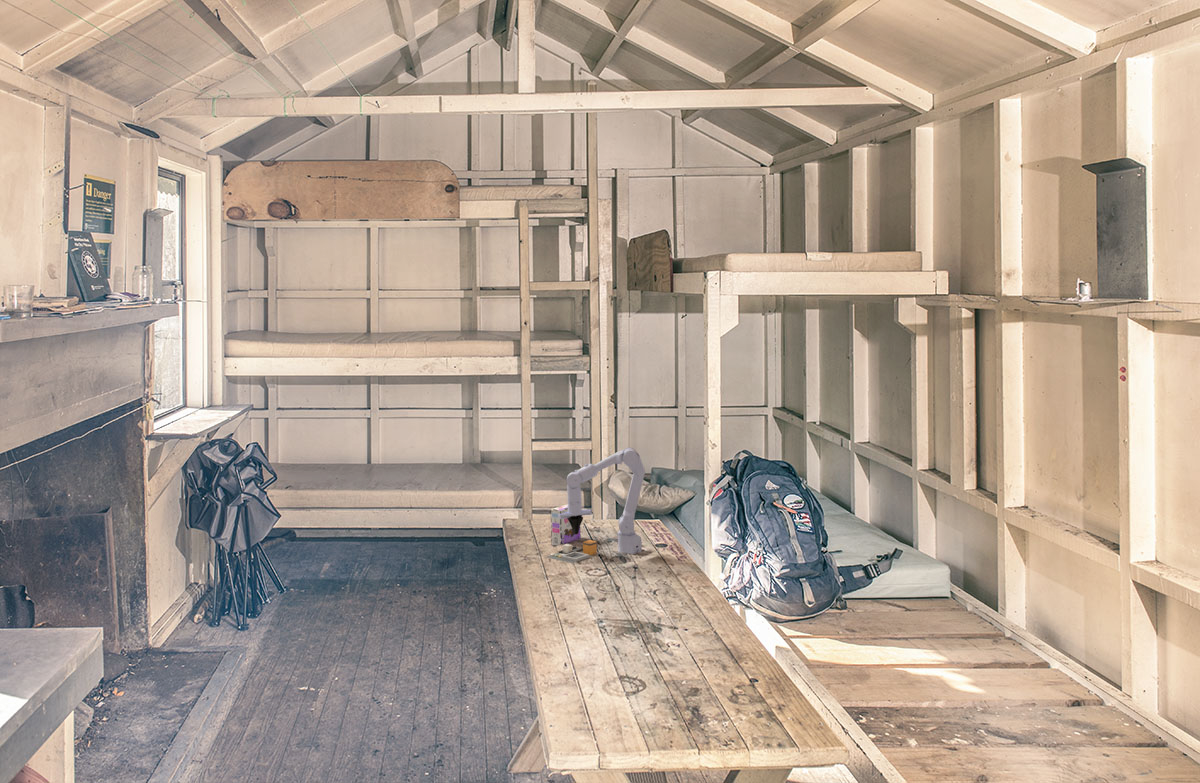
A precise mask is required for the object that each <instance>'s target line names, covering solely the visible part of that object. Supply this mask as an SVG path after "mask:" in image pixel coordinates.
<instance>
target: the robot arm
mask: <svg viewBox="0 0 1200 783" xmlns="http://www.w3.org/2000/svg"><path fill="white" fill-rule="evenodd" d="M615 464H616V465H623V464H624V465H625V466H627V467H628V468H630V470H631V472H632V477H631V481H630V485H629V489H628V492H627V497H626V500H625V505H624V508H623V512H622V514H621V516H620V517H619V518H618V531H617V542H618V543H617V544H618V550H617V551H618V552H619V553H621V554H629V555H635V554H638V553H640V552H642V549H643V548H642V543H643V542H642V538H641V536H640V535H639V534H637V533H636V530H635V524H634V522H635V516H636V515H635V514H636V510H637V506H638V501H639V498H640V494H641V490H642V485H643V482H644V478H645V474H646V470H645V467H644V464H643V462H642V459H641V456H640V454H639V452H637V451H636V449H635V448H633V447H626V448H624V449H621V450H619V451H617V452H615V453H613V454H611V455H609V456H607V457H606V458H604V459H602V460H600V461H599V462H597V463H595V464H594V463H585V464H584V466H583V467H581V468H579V469H575V470H574V471H572V472H569V474H568V475H567V477H566V484H567V486H566V489H567V491H566V492H567V495H566V496H567V497H566V498H567V504H568V512H565V513H561V514H558V519H564V518H567V519H568V520H569V522H570V524H571V527H572V530H573V534H578V533H579V528H580V529H581V525H582V522H583V520H584V517H583V516H590V515H592V513H593V512H592V509H583V508H582V507H583V505H582V491H581V484H582V483H586V482H588V481H589V480H591V479H593V478H596V477H597V476H598V472H601V471H602V470H604V469H605V470H606V469H607V468H609V467H611V466H613V465H615Z"/></svg>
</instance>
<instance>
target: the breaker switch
mask: <svg viewBox="0 0 1200 783" xmlns="http://www.w3.org/2000/svg"><path fill="white" fill-rule="evenodd" d="M572 547H573V545H572V544H569V543H565V544H562V550H563V552H564V553H569V552H572Z"/></svg>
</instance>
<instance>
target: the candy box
mask: <svg viewBox="0 0 1200 783" xmlns="http://www.w3.org/2000/svg"><path fill="white" fill-rule="evenodd" d="M565 512H568V503H567V504H564V505H560V506H557V507H554V508H550V537H551V540H550V541H551V546H553V547H558V546H561V545H565V544H569V543H570V542H574V541H577V540H579V539H581V527H580V528H579V533H578V534H573V530H572V527H571V524H570V522H569V520H568V519H567V518H564V519H558V514H561V513H565Z"/></svg>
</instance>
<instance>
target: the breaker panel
mask: <svg viewBox="0 0 1200 783" xmlns="http://www.w3.org/2000/svg"><path fill="white" fill-rule="evenodd" d="M601 554H603V552H598V551H597V553H596V554H593V555H589V554H584V553H583V547H581V548H579V547H577V545H574V546H573V545H572V552H569V553H564V552H563V549H561V550H559V551H558V552H556V553H551V554H550V555H548V556H545V558H546V559H551V560H555V561H560V562H565V563H568V564H570V563H571V564H575V563H578V562H581V561H584V560H586V559H590V558H592V557H595V556H599V555H601Z"/></svg>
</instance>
